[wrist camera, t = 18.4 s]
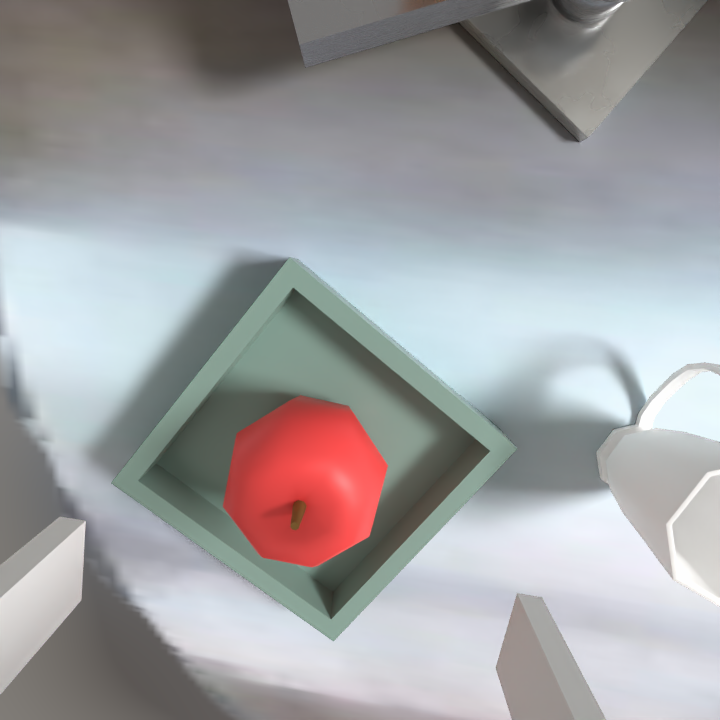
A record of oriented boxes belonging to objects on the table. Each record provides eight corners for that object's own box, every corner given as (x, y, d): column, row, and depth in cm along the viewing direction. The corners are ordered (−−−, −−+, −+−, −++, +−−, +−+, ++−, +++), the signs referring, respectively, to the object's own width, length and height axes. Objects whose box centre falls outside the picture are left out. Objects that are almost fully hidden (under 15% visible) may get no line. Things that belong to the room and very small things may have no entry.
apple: (412, 432, 25) (437, 503, 17) (331, 536, 27) (321, 648, 19) (294, 351, 24) (264, 388, 17) (216, 463, 26) (154, 548, 18)
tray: (297, 259, 24) (289, 257, 21) (499, 429, 26) (517, 448, 23) (138, 459, 26) (111, 483, 23) (336, 602, 28) (333, 641, 25)
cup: (560, 504, 27) (644, 599, 19) (601, 341, 25) (713, 373, 17) (673, 519, 27) (801, 619, 19) (721, 359, 25) (886, 398, 18)
